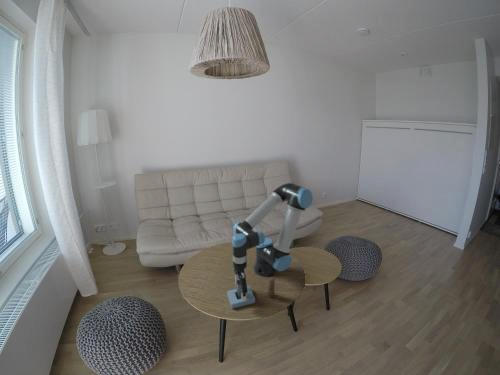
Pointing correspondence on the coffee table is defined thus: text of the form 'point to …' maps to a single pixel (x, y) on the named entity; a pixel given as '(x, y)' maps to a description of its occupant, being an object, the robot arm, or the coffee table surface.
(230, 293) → the bore block
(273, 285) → the walnut dowel
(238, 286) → the square bit
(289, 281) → the coffee table surface
